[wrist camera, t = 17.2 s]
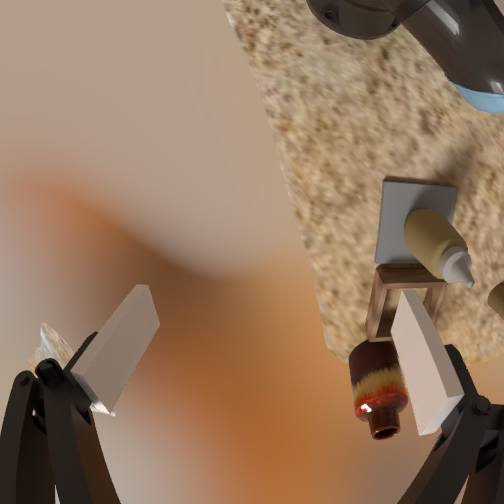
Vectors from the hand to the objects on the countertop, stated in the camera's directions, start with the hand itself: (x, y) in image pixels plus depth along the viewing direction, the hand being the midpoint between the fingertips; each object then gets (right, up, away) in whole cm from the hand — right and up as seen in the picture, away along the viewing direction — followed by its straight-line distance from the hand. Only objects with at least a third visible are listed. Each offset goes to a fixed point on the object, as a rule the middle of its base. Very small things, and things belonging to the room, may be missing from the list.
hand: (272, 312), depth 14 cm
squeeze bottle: (+26, +8, +27) cm, 39 cm away
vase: (+26, -20, +42) cm, 53 cm away
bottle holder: (+28, -6, +34) cm, 44 cm away
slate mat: (+27, +8, +28) cm, 39 cm away
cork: (+54, -7, +31) cm, 63 cm away
